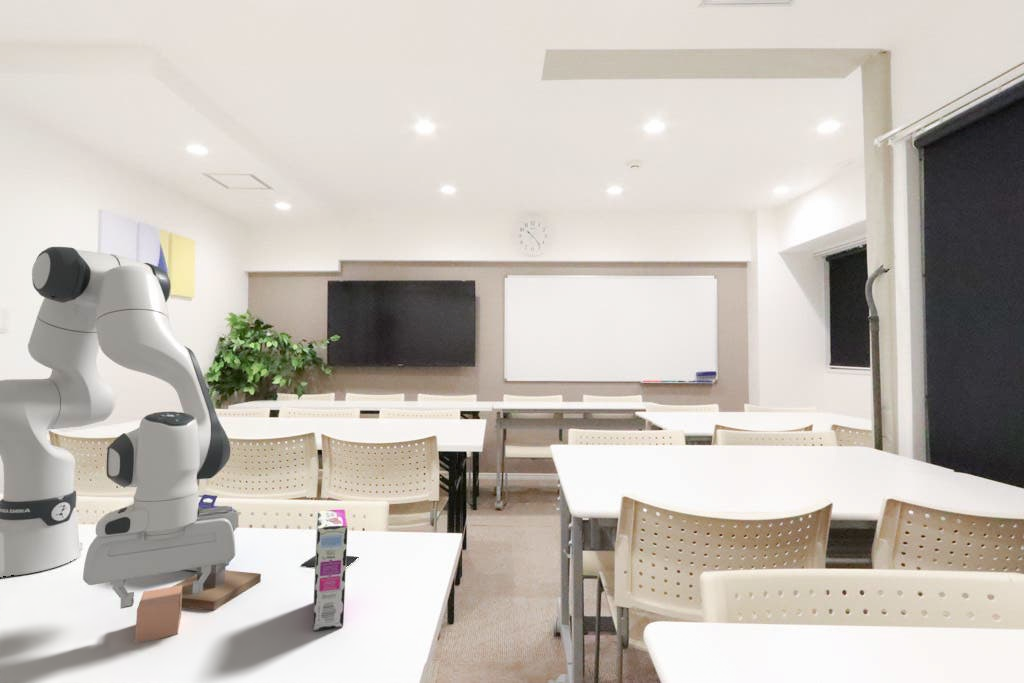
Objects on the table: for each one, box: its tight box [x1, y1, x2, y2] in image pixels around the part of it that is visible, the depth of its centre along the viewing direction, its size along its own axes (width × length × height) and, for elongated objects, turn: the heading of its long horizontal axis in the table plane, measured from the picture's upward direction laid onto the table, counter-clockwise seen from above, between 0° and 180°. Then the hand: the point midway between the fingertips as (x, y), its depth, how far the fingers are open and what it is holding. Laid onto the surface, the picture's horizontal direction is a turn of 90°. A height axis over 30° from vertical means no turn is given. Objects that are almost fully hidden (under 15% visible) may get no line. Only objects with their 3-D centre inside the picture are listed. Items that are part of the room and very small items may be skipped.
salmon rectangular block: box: [135, 585, 182, 644], centre depth 81 cm, size 5×7×5 cm
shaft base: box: [171, 563, 262, 611], centre depth 95 cm, size 12×12×6 cm
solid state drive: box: [300, 554, 360, 568], centre depth 109 cm, size 7×10×1 cm
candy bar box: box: [312, 509, 348, 632], centre depth 87 cm, size 11×5×16 cm, turn 21°
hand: (163, 599), depth 81 cm, fingers open, 8 cm apart
